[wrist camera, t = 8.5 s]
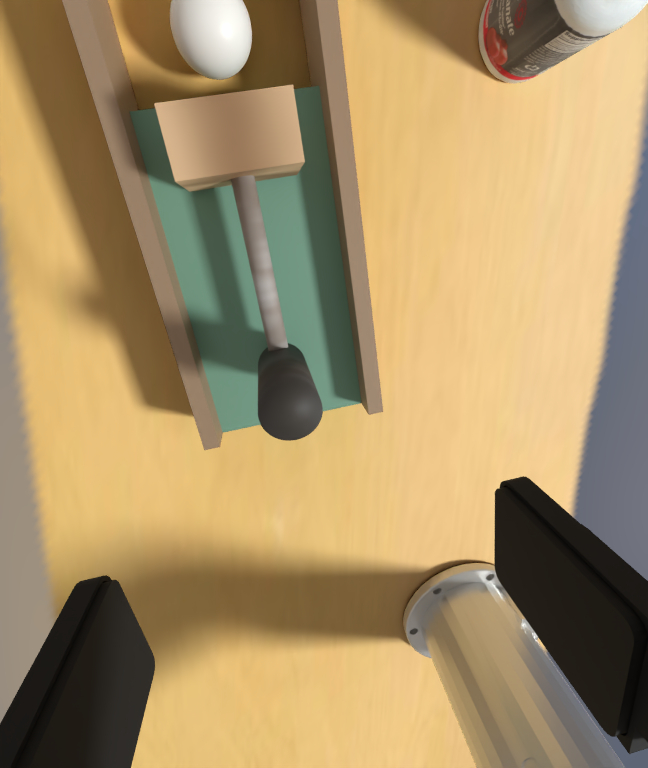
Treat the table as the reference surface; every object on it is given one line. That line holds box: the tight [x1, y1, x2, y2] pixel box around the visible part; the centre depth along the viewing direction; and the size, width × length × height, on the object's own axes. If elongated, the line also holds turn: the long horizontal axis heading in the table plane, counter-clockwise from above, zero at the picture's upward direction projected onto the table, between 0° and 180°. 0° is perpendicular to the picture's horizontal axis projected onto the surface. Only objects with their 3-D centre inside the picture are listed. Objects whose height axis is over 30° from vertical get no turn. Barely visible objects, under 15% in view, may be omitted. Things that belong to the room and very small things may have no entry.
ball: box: [170, 0, 252, 80], centre depth 20 cm, size 4×4×4 cm
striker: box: [154, 85, 323, 440], centre depth 19 cm, size 6×15×8 cm, turn 9°
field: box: [62, 0, 383, 450], centre depth 23 cm, size 12×26×5 cm, turn 9°
